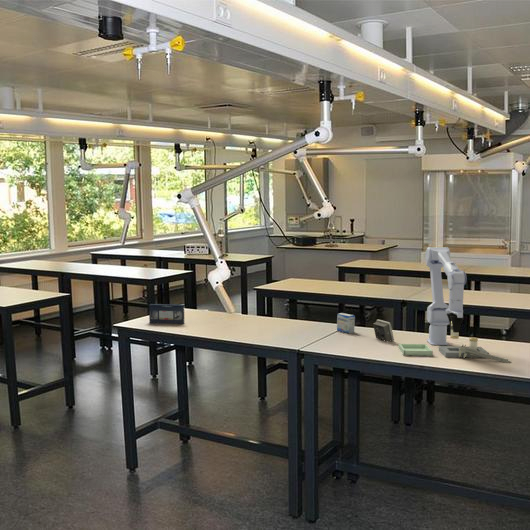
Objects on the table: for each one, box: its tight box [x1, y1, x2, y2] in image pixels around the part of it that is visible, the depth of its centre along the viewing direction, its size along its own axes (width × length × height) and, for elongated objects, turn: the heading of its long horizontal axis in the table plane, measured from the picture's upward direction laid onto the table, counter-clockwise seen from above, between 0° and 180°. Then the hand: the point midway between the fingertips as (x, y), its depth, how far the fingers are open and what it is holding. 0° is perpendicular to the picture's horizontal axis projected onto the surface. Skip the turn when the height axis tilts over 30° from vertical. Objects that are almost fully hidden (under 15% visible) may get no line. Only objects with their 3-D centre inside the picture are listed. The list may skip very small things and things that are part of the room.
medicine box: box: [336, 312, 356, 334], centre depth 299 cm, size 8×4×9 cm, turn 42°
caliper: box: [458, 344, 512, 364], centre depth 248 cm, size 20×1×6 cm, turn 71°
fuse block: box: [438, 345, 490, 359], centre depth 257 cm, size 11×18×2 cm, turn 88°
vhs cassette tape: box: [148, 303, 185, 325], centre depth 316 cm, size 18×3×10 cm, turn 83°
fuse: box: [468, 336, 479, 350], centre depth 257 cm, size 3×3×7 cm
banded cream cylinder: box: [450, 321, 460, 340], centre depth 256 cm, size 3×3×7 cm
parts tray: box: [397, 343, 434, 357], centre depth 260 cm, size 12×12×2 cm
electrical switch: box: [372, 319, 395, 342], centre depth 282 cm, size 9×5×9 cm, turn 29°
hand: (454, 331), depth 256 cm, fingers closed on banded cream cylinder, 3 cm apart
